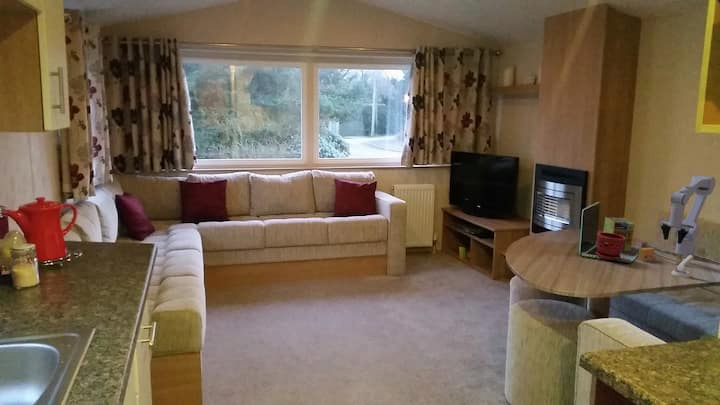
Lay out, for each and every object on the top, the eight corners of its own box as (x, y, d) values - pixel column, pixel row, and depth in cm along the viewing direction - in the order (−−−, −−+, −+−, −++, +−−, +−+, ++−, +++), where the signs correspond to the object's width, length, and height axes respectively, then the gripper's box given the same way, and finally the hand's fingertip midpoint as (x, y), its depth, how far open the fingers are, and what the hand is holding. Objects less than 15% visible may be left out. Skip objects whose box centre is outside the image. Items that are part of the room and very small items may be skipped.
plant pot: (611, 262, 264) (614, 239, 262) (589, 255, 276) (592, 232, 274) (628, 260, 270) (631, 237, 268) (606, 252, 282) (609, 231, 280)
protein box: (610, 250, 287) (614, 222, 284) (601, 243, 302) (605, 216, 299) (630, 252, 286) (635, 224, 283) (620, 244, 301) (624, 217, 298)
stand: (645, 251, 288) (647, 241, 287) (684, 263, 268) (685, 253, 267) (638, 252, 286) (639, 242, 285) (676, 264, 266) (677, 254, 265)
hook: (706, 267, 245) (697, 260, 243) (685, 285, 248) (677, 278, 246) (695, 259, 252) (687, 252, 250) (675, 277, 255) (667, 269, 253)
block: (648, 258, 275) (650, 247, 274) (652, 259, 273) (654, 248, 272) (637, 259, 272) (639, 248, 271) (642, 260, 270) (643, 249, 269)
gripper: (658, 213, 276) (654, 238, 279) (684, 219, 263) (680, 245, 266) (667, 212, 279) (663, 237, 281) (694, 218, 266) (689, 244, 268)
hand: (672, 241), depth 274 cm, fingers open, 7 cm apart
